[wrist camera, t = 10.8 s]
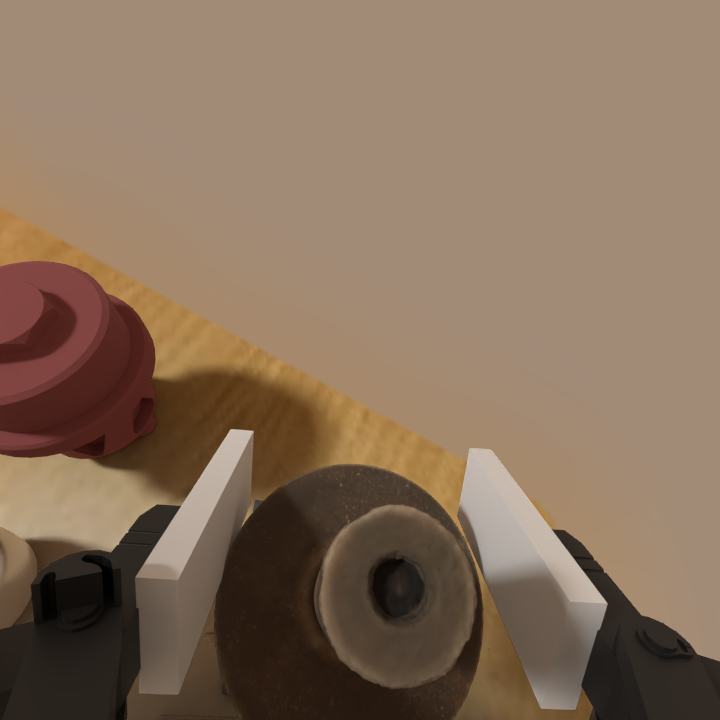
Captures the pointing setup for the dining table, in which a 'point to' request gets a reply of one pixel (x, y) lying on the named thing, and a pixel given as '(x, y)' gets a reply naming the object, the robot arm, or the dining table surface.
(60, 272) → the mechanical component
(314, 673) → the industrial component
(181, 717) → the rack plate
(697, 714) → the robot arm
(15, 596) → the plastic bottle
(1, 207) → the dining table surface
